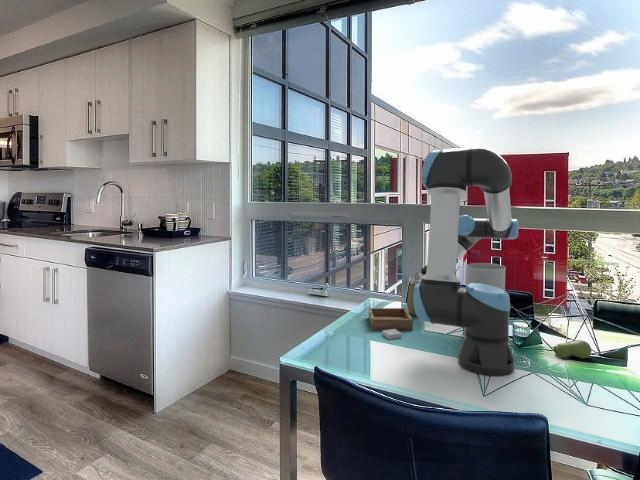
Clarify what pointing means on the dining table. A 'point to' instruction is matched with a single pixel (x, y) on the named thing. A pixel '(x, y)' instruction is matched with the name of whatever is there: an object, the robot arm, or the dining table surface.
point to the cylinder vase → (486, 274)
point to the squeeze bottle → (410, 293)
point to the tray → (390, 319)
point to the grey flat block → (391, 334)
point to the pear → (573, 349)
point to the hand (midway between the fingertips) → (414, 288)
